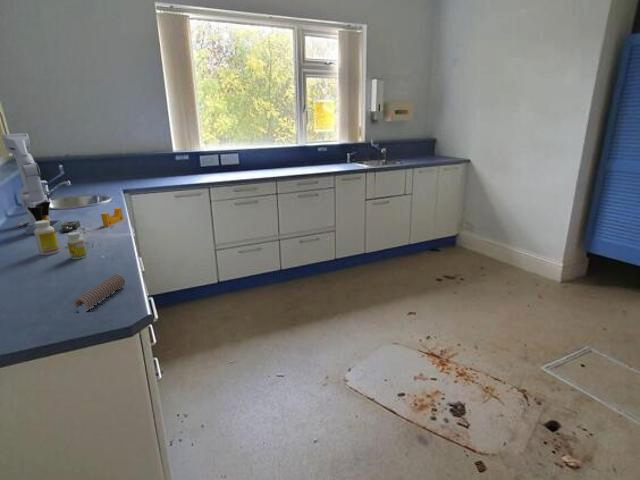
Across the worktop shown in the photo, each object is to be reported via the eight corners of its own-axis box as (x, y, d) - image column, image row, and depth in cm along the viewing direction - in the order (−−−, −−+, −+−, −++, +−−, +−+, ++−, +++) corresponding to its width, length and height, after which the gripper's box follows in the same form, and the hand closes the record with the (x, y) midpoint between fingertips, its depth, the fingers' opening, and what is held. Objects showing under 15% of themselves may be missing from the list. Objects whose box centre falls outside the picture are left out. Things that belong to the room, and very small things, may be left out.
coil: (111, 273, 122) (68, 299, 106) (124, 272, 122) (83, 299, 105) (115, 286, 124) (74, 314, 107) (128, 286, 123) (89, 314, 106)
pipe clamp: (115, 219, 199) (113, 207, 197) (123, 220, 199) (121, 207, 197) (100, 226, 188) (97, 213, 186) (108, 226, 188) (105, 213, 186)
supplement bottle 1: (63, 250, 155) (56, 220, 151) (48, 256, 150) (39, 224, 145) (51, 249, 158) (44, 218, 153) (35, 254, 152) (27, 223, 148)
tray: (36, 227, 187) (35, 221, 186) (63, 225, 190) (61, 219, 189) (26, 234, 177) (24, 228, 176) (54, 232, 179) (53, 226, 178)
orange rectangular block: (44, 228, 184) (41, 215, 182) (51, 227, 185) (48, 215, 183) (41, 230, 181) (38, 217, 180) (49, 229, 182) (45, 216, 180)
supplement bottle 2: (89, 256, 149) (84, 232, 146) (75, 260, 145) (69, 236, 142) (82, 253, 152) (77, 230, 149) (68, 257, 148) (62, 234, 145)
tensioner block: (66, 226, 188) (65, 221, 187) (80, 225, 189) (79, 220, 188) (58, 233, 178) (57, 227, 177) (73, 232, 179) (72, 226, 179)
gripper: (39, 193, 171) (46, 222, 176) (51, 187, 185) (58, 214, 189) (20, 194, 170) (28, 223, 174) (34, 188, 183) (41, 215, 187)
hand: (42, 219), depth 181 cm, fingers open, 7 cm apart
